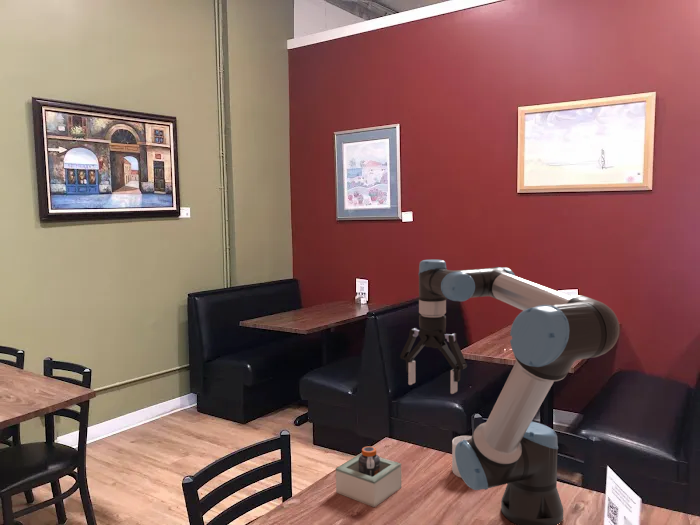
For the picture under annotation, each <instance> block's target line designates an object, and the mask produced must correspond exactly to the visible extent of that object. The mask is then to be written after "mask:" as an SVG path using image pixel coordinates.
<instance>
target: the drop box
mask: <svg viewBox="0 0 700 525" xmlns="http://www.w3.org/2000/svg"><path fill="white" fill-rule="evenodd" d="M361 455H362V452H361V453H359V454H357V455H356V456H354V457H353V458H351V459H349V460H348V461H346V462H344V463H342V464H341V465H339V466H338V467H336V468H335V492H336V494H339V495H342V496H344V497H346V498H349V499H351V500H352V499H353V500H355V501H357V502H360V503H361V504H362V503H363V504H364V505H368V506H369V507H373V508H376V507H377V506H379V505H380V504H381V503H383V502H384V501H385V500H387V499H389V497H391V496H392V495H394V493H396V492H398V491H399V490H400V489H401V488H402V463H400V462H398V461H394V460H390V459H388V458H385V457H382V456H379V458H380V472H379V473H378V474H376V475H375V476H373V477H372V476H369V475H366V474H363V473H360V472H359V457H360V456H361Z"/></svg>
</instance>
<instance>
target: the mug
mask: <svg viewBox="0 0 700 525" xmlns="http://www.w3.org/2000/svg"><path fill="white" fill-rule="evenodd" d="M471 437H472V435H460V436H459V435H458V436H456V437H454V438H453V439H452V441H451V442H452V445H451V446H452V447H451V448H452V449H451V450H452V451H451V453H452V456H451V458H452V459H451V460H452V462H451V471H452V473H453V475H454V476H456V477H458V478H461V479H462V477H461V475H460V473H459V470H458V467H457V464H456V459H455V448H456V445H457V444H458V443H459V442H461V441H463V440H469V439H471Z"/></svg>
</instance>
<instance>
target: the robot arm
mask: <svg viewBox="0 0 700 525" xmlns="http://www.w3.org/2000/svg"><path fill="white" fill-rule="evenodd" d="M417 275H418V313H419V316H418V327H419V329H418V328H417V327H414V328H411V329H409V333H408V334H409V335H408V338H407V340H406V343H405V344H404V347H403V348H402V351H401V353H400V355H399V358H400V359H401V360H403V361H405V372H406V373H408V375H407V376H408V377H407V378H408V380H407V381H408V382H407V383H408V385H409V386H412V385H413V384H415V383H416V360H415V358H416V356H418V354H419V353H420V352H421V350H422V349H423V348H424V347H425V348H432V349H438V351H440V352H441V353H442V355H443V356H444V358H445V359H446V361H447V362H448V364H449V366H450V367H451V368H452V369H451V370H450V394H451V395H453V394H455V393H457V392H458V382H460V380H461V371H462V370H464V369H466V368H467V367H468V363H467V362H466V359H465V357H464V355H463V353H462V350H461V348H460V345H459V343H458V340H457V338H458V337H457V333H455V332H454V333H452V334H450V333H447V332H446V328H447V316H446V315H445V314H446V313H447V300H450V301H453V302H466V301H467V300H470V299H473V298H481V297H483V298H484V297H491V298H493V299H496V300H498V301H501V302H502V303H505V304H508V305H509V306H512V307H514V308H517V309H518V310H521V311H520V313H518V315H516V317H515V318H514V320H513V322H512V325H511V328H510V332H509V336H511V339H510V340H509V342H510V347H511V349H512V353H513V357H514V359H515V363H514V365H513V367H512V369H511V371H510V373H509V375H508V377H507V379H506V381H505V383H504V386H503V387H502V390H501V391H500V393H499V395H498V397H497V400H496V402H495V403H494V405H493V407H492V410H491V412H490V414H489V416H488V418H487V420H486V422H483V423H480V424H479V425H477V426H476V428H475V429H474V431H473V433H472V435H471V436H472V437H471V439H469V440H463V441H461V442H459V443H458V444H457V445H456V448H455V459H456V464H457V467H458V470H459V473H460V475H461V477H462V478H461V479H462V480H463V482H464V483H465V484H466V486H467V487H468V488H470V489H471V490H474V491H481V490H485V491H487V490H488V489H491V488H492V489H493V488H496V487H499V486H503V485H506V487H505V490H504V492H503V495H502V497H501V502H500V509H501V510H500V511H501V513H502V514H503V516H504V517H505V519H507V520H508V521H510V522H511V523H513V524H515V525H557V524H559V523H560V522H561V521H562V519H563V520H564V506H563V503H562V501H561V500H562V499H561V497H560V493H559V491H558V487H557V486H558V485H557V484H558V481H557V480H558V476H557V475H558V455H559V454H558V452H559V450H558V449H559V446H558V435H557V433H556V431H555V430H554V429H552V428H551V427H549V426H547V425H546V424H543V423H539V422H536V421H533V420H534V418H535V416H536V415H537V413H538V411H539V409H540V407H541V405H542V403H543V402H544V400H545V398H546V397H547V395H548V393H549V391H550V390H551V387H552V386H553V384H554V382H559V381H561V380H564V379H565V378H566V377H567V375H568V374H569V372H570V370H571V368H572V367H573V365H574V363H575V362H576V361H580V360H585V359H591V358H593V359H594V358H598V357H600V356H602V355H605V354H607V353H608V352H609V351H610V350H611V349H613V347H615V345H616V343H617V341H618V339H619V337H620V331H621V330H620V323H619V319H618V316H617V315H616V313H615V312H614V310H613V309H612V308H611V307H609V306H608V305H607V304H606V303H604V302H602V301H599V300H597V299H594V298H591V297H588V296H586V295H581V294H580V295H575V296H572V295H569V294H566V293H564V292H561V291H558V290H556V289H552V288H550V287H547V286H545V285H541V284H539V283H536V282H533V281H530V280H527V279H524V278H522V277H520V276H519V277H518V276H517V275H516V274H515V272H513V270H512V269H510V268H509V267H501V266H500V267H499V266H495V267H488V268H475V269H473V268H472V269H460V270H451V269H447V262H446V261H445V260H443V259H423V260H421V261H419V266H418V274H417ZM417 337H419V339H420V340H419V341H418V343H417V344H416V345H415V347H414V348H413V345H414V344H415V342H416V339H417ZM447 342H448V343H449V344H448V343H447ZM448 345H449V346H448ZM449 347H450V348H449ZM412 348H413V349H412ZM450 349H451V350H450ZM411 350H412V351H411ZM562 522H563V521H562ZM562 522H561V523H562ZM561 523H560V524H561ZM560 524H559V525H560Z"/></svg>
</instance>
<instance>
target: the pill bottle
mask: <svg viewBox="0 0 700 525" xmlns="http://www.w3.org/2000/svg"><path fill="white" fill-rule="evenodd" d="M361 453H362V455H361V456H360V457H359V472H360V473H363V474H366V475H369V476H372V477H373V476H375V475H376V474H378V473H379V472H380V458H379V457H380V456H379V455H378V454H377V448H376V447H374V446H364V447H362V449H361Z"/></svg>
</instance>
